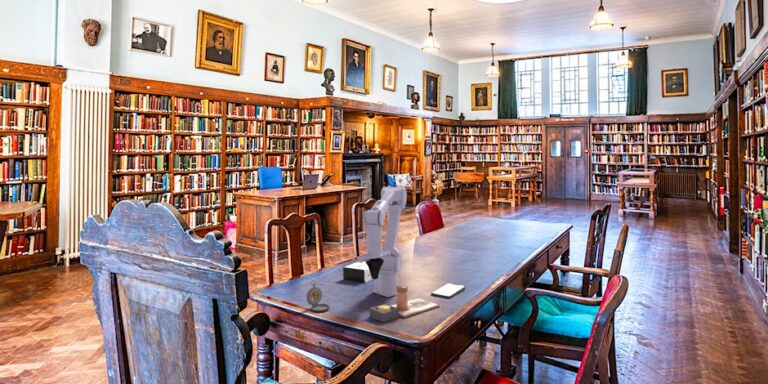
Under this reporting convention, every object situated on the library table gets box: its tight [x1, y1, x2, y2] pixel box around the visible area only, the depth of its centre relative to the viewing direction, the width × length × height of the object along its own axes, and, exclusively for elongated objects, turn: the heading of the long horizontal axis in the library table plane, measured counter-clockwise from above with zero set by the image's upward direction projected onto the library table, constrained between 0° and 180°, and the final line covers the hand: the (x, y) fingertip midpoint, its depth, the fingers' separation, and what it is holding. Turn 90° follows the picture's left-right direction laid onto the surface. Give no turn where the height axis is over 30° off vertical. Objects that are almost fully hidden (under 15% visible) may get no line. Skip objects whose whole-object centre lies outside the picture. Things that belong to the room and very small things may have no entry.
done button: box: [378, 305, 391, 312], centre depth 155 cm, size 4×4×3 cm
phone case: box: [430, 283, 466, 300], centre depth 184 cm, size 9×2×16 cm
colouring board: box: [390, 297, 440, 319], centre depth 164 cm, size 12×18×1 cm, turn 131°
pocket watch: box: [305, 280, 330, 313], centre depth 164 cm, size 8×8×10 cm
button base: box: [369, 303, 400, 323], centre depth 155 cm, size 7×7×3 cm
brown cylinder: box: [395, 284, 409, 311], centre depth 161 cm, size 4×4×8 cm
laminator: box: [342, 261, 373, 283], centre depth 215 cm, size 34×12×6 cm, turn 152°
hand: (374, 278), depth 166 cm, fingers closed
